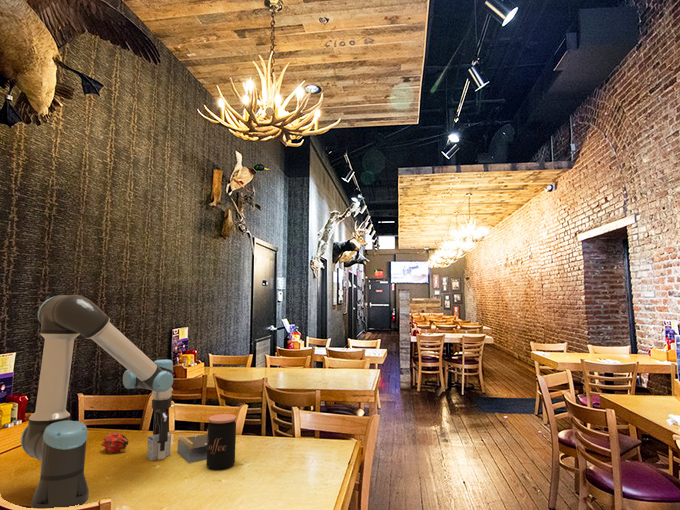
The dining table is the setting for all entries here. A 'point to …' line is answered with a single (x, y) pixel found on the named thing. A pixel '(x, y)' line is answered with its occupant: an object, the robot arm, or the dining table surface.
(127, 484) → the dining table surface
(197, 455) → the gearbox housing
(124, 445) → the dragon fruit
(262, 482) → the dining table surface
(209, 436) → the coffee jar
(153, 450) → the medicine box
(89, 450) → the dining table surface
